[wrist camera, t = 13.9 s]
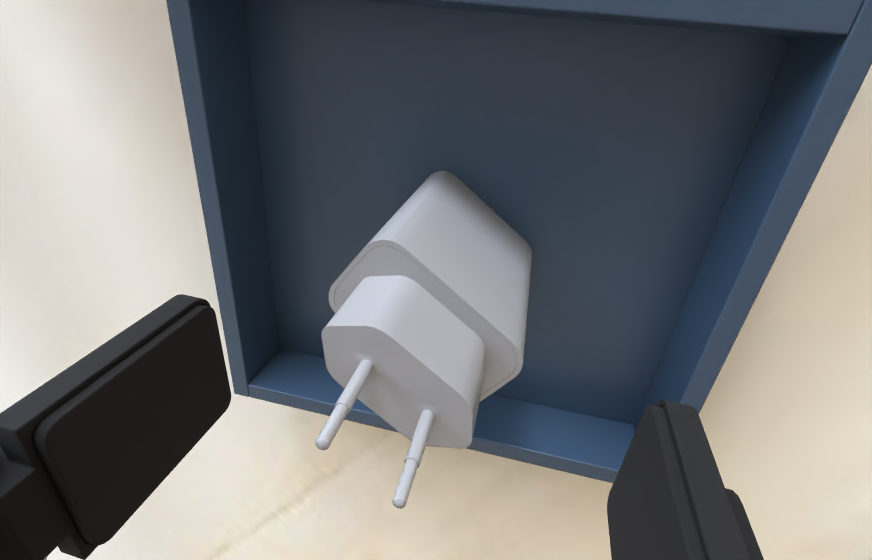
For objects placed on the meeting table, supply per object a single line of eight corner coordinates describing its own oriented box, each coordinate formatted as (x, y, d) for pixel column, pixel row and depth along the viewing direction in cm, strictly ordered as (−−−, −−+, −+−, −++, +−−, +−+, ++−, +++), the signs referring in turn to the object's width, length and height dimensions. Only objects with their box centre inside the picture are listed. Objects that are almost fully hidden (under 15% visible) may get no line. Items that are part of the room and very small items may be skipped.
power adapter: (441, 162, 17) (281, 336, 7) (540, 254, 18) (527, 532, 8) (394, 216, 19) (204, 426, 9) (487, 300, 20) (418, 583, 9)
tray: (823, 9, 13) (905, -1, 10) (644, 430, 22) (659, 494, 19) (230, -36, 16) (155, -54, 13) (273, 350, 25) (233, 393, 22)
